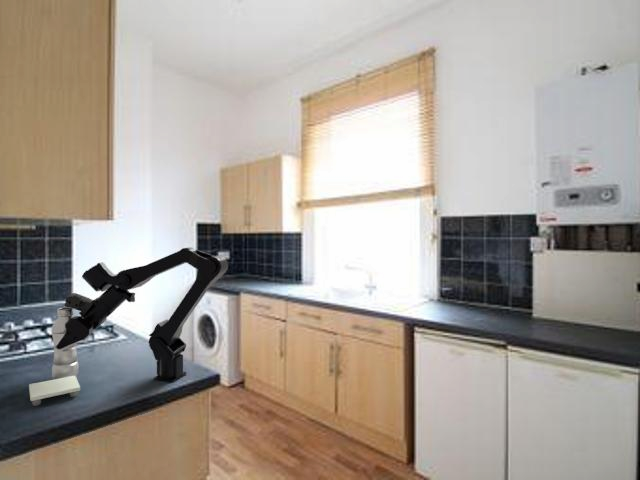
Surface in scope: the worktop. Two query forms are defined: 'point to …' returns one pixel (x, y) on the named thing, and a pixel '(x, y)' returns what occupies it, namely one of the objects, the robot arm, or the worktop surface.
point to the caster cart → (53, 388)
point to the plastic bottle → (67, 356)
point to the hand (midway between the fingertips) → (63, 343)
